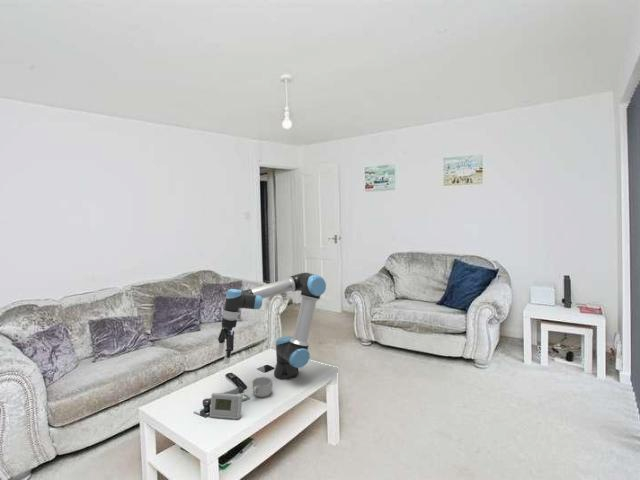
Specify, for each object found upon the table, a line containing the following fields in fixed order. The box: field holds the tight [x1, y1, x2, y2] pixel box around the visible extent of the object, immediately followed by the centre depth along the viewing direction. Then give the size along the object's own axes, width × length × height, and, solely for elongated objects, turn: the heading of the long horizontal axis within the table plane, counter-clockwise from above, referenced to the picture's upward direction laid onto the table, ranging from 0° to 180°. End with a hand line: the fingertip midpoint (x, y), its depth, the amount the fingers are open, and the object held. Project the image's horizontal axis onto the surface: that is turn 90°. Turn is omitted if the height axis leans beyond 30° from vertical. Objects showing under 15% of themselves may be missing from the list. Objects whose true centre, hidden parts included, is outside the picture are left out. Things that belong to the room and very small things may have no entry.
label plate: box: [241, 393, 251, 403], centre depth 196 cm, size 8×6×1 cm
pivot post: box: [199, 405, 211, 417], centre depth 183 cm, size 7×7×4 cm
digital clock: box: [209, 392, 243, 420], centre depth 180 cm, size 16×9×11 cm, turn 68°
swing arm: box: [202, 386, 245, 407], centre depth 189 cm, size 22×4×2 cm, turn 131°
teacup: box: [252, 376, 273, 398], centre depth 199 cm, size 14×11×8 cm
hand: (222, 359), depth 190 cm, fingers open, 13 cm apart
